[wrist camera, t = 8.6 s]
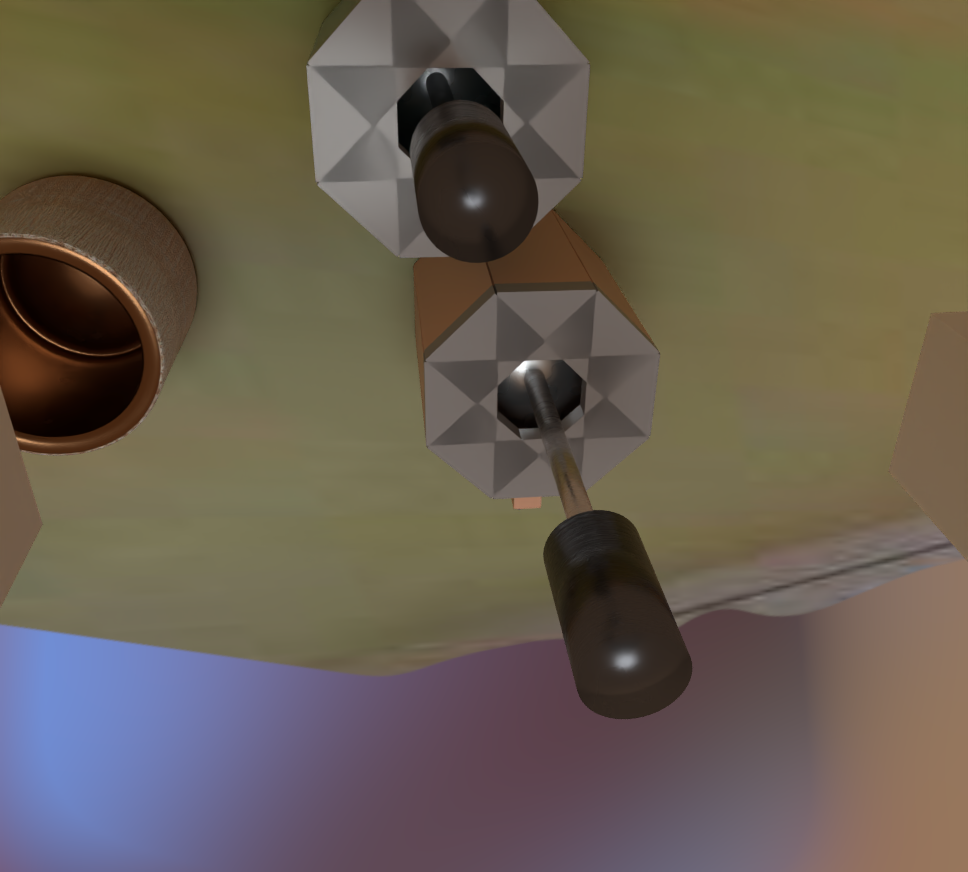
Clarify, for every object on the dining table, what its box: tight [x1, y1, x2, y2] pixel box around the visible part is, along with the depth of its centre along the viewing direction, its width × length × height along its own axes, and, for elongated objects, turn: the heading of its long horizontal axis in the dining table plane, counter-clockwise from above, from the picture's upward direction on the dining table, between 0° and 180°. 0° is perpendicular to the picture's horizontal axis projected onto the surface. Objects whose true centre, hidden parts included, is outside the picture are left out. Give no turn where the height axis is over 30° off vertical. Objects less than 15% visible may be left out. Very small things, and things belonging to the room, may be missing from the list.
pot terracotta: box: [413, 209, 660, 509], centre depth 47 cm, size 13×10×12 cm
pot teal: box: [306, 0, 590, 258], centre depth 39 cm, size 13×10×12 cm
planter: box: [0, 175, 197, 455], centre depth 44 cm, size 11×11×10 cm
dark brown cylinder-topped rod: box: [397, 68, 539, 263], centre depth 34 cm, size 8×8×20 cm
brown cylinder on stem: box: [497, 360, 692, 719], centre depth 35 cm, size 8×8×20 cm
